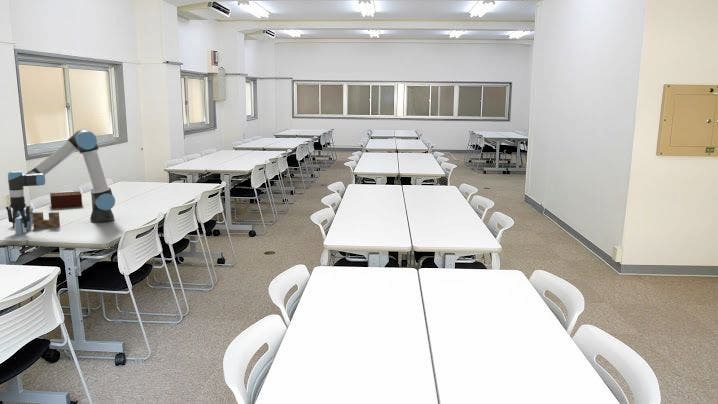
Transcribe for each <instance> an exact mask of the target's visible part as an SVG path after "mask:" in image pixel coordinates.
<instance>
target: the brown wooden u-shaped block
mask: <svg viewBox="0 0 718 404" xmlns="http://www.w3.org/2000/svg"><path fill="white" fill-rule="evenodd" d="M32 216H33V223H32V225H33V228H34V229H39V228H40V229H43V228H44V229H48V228H49V229H51V228H53V229H54V228H55V229H57V228H60V227H61V221H60V212H59V211H50V212H48V218H47V219H46V218H44V212H43V211H33V213H32Z"/></svg>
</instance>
